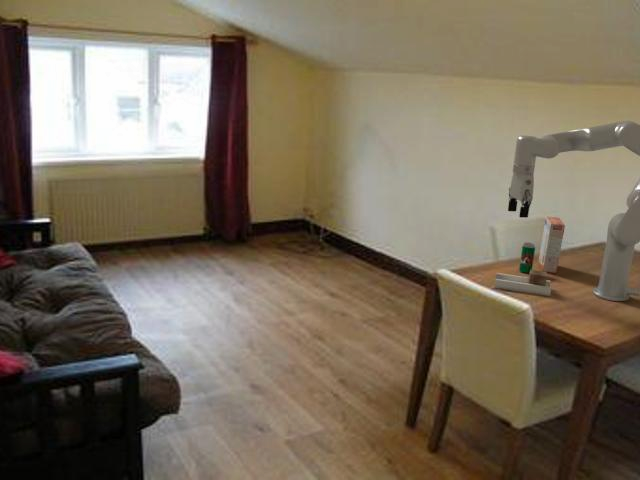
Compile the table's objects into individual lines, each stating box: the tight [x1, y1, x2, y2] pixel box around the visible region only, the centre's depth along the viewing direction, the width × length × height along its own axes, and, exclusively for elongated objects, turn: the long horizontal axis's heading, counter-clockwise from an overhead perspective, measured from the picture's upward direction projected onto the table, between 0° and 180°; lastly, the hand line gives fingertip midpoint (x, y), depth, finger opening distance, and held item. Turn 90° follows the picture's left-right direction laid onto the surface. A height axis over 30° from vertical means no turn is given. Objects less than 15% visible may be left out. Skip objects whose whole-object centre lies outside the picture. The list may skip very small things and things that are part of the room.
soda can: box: [518, 242, 536, 274], centre depth 254 cm, size 5×5×12 cm
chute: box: [494, 272, 552, 297], centre depth 236 cm, size 20×9×3 cm, turn 72°
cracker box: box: [537, 216, 566, 274], centre depth 260 cm, size 14×6×21 cm, turn 168°
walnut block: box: [528, 269, 548, 286], centre depth 233 cm, size 6×6×6 cm
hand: (517, 214), depth 235 cm, fingers open, 9 cm apart
